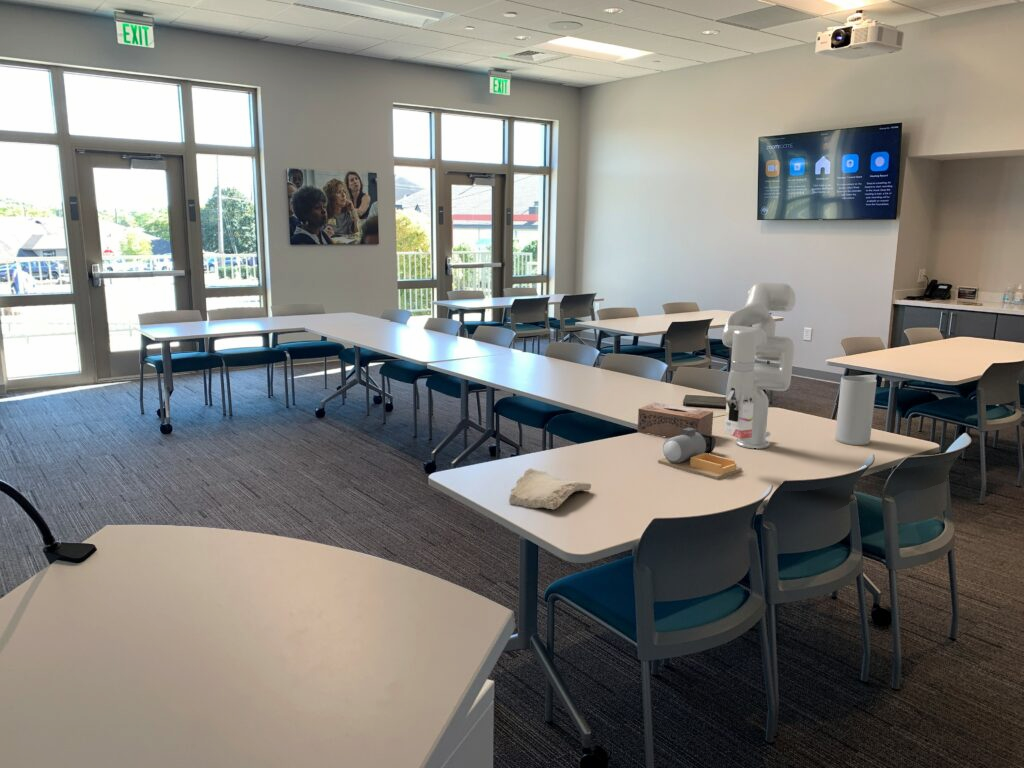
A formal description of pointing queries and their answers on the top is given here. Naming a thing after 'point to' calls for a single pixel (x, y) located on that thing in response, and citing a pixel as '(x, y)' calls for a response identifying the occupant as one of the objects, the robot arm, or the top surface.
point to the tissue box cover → (673, 420)
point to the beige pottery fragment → (543, 490)
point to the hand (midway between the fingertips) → (738, 418)
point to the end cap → (709, 443)
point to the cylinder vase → (855, 410)
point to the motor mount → (695, 456)
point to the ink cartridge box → (740, 420)
